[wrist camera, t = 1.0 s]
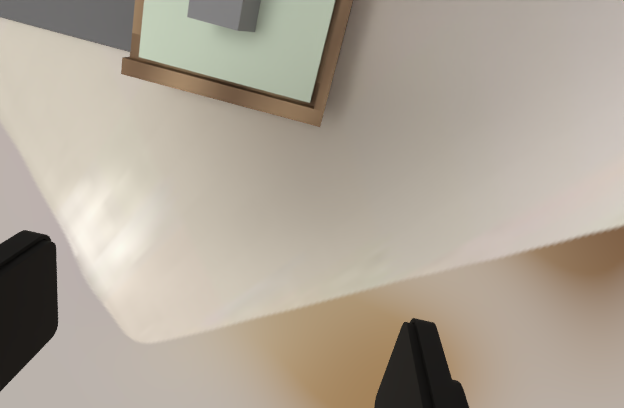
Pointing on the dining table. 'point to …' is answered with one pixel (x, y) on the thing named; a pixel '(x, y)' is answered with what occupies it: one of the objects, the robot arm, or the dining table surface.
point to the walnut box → (242, 93)
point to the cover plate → (241, 40)
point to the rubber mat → (77, 18)
